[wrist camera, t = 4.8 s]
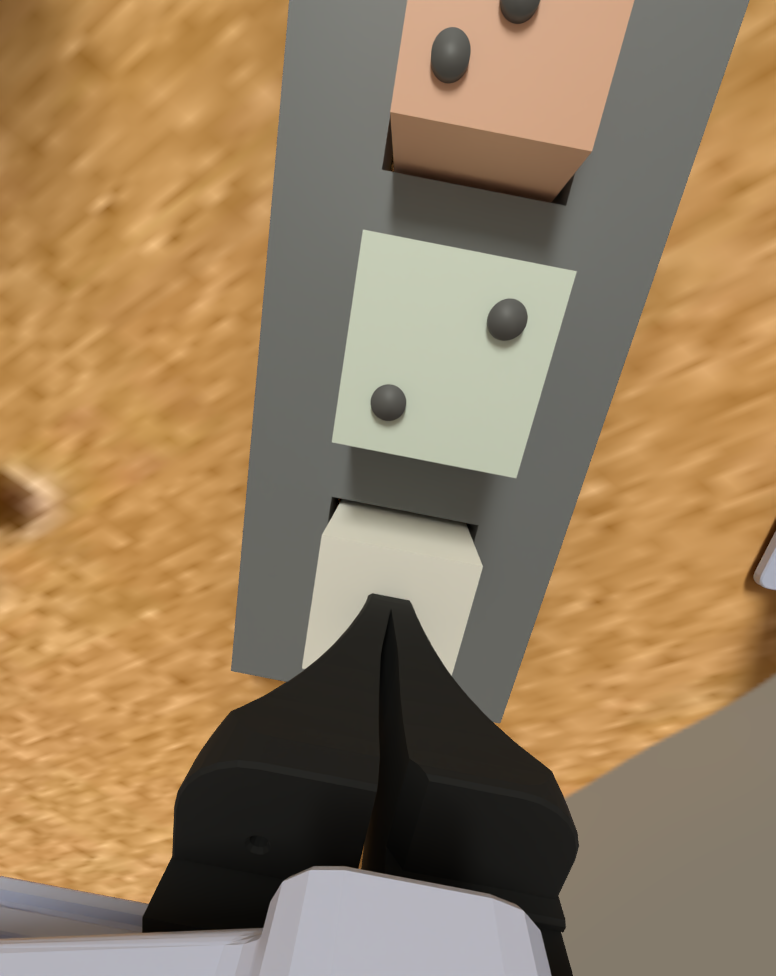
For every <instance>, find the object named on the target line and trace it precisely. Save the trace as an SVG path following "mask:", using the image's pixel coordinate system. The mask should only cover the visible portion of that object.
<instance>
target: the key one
mask: <svg viewBox="0 0 776 976" xmlns="http://www.w3.org/2000/svg"><path fill="white" fill-rule="evenodd" d="M482 568H483V565H482V563H481V560H480V558H479V555H478V553H477V550H476V548H475V545H474V543H473V540H472V538H471V535H470V533H469V530H468V528H467V525H466V523H464V522H459V521H454V520H449V519H444V518H439V517H434V516H428V515H423V514H418V513H413V512H408V511H403V510H398V509H393V508H388V507H382V506H377V505H372V504H367V503H362V502H357V501H352V500H347V499H342V500H341V502H340V504H339V505H338V507H337V509H336V511H335V512H334V514H333V516H332V518H331V520H330V521H329V523H328V525H327V527H326V528H325V530H324V532H323V534H322V537H321V544H320V550H319V557H318V564H317V570H316V577H315V584H314V590H313V597H312V604H311V610H310V617H309V624H308V630H307V637H306V644H305V650H304V657H303V664H302V669H306V668H307V667H308V666H310V665H311V664H312V663H313V662H315V661H316V660H317V659H318V658H319V657H320V656H322V655H323V654H324V653H325V652H326V651H327V650H328V649H329V648H330V647H331V646H332V645H333V644H334V643H335V642H336V641H337V640H338V639H339V638H340V636H341V635H342V634H343V633H344V632H345V631H346V630H347V629H348V627H349V626H350V625H351V623H352V622H353V621H354V619H355V618H356V617H357V615H358V614H359V612H360V611H361V609H362V608H363V606H364V604H365V602H366V600H367V598H368V595H370V594H372V593H374V594H379V595H384V596H390V597H395V598H400V599H405V600H410V602H411V603H412V605H413V608H414V610H415V613H416V615H417V617H418V619H419V622H420V624H421V626H422V628H423V630H424V632H425V634H426V635H427V637H428V639H429V641H430V643H431V645H432V646H433V648H434V650H435V651H436V653H437V655H438V656H439V658H440V660H441V661H442V663H443V664H444V666H445V667H446V669H447V670H448V672H449V673H450V674H451V676H452V673H453V670H454V666H455V663H456V659H457V656H458V652H459V649H460V645H461V642H462V638H463V635H464V631H465V628H466V624H467V621H468V617H469V614H470V610H471V607H472V603H473V600H474V596H475V593H476V589H477V586H478V582H479V579H480V575H481V572H482Z"/></svg>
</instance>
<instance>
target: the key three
mask: <svg viewBox="0 0 776 976" xmlns="http://www.w3.org/2000/svg"><path fill="white" fill-rule="evenodd" d="M633 3H634V0H407V5H406V12H405V18H404V25H403V31H402V38H401V45H400V51H399V58H398V64H397V71H396V77H395V84H394V90H393V97H392V103H391V110H390V116H391V131H392V145H393V159H394V172H396V173H401V174H406V175H411V176H416V177H421V178H426V179H432V180H437V181H442V182H447V183H452V184H457V185H462V186H467V187H472V188H477V189H483V190H488V191H493V192H498V193H503V194H508V195H513V196H518V197H523V198H529V199H534V200H539V201H544V202H549V203H551V202H552V201H553V200H554V198H555V197H556V196H557V195H558V193H559V192H560V191H561V190H562V188H563V187H564V186H565V185H566V183H567V182H568V181H569V180H570V178H571V177H572V176H573V175H574V173H575V172H576V171H577V170H578V168H579V167H580V166H581V165H582V163H583V162H584V161H585V160H586V158H587V157H588V156H589V155H590V153H591V152H592V150H593V146H594V143H595V139H596V136H597V132H598V128H599V125H600V121H601V118H602V114H603V111H604V107H605V103H606V100H607V96H608V93H609V89H610V86H611V82H612V78H613V75H614V71H615V68H616V64H617V61H618V57H619V53H620V50H621V46H622V43H623V39H624V36H625V32H626V28H627V25H628V21H629V18H630V14H631V11H632V7H633Z"/></svg>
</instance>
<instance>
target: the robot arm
mask: <svg viewBox="0 0 776 976" xmlns="http://www.w3.org/2000/svg"><path fill="white" fill-rule="evenodd" d="M753 577H754V581H755V582H756V583H757V584H759V585H760V586H762V587H764V588H767V589H771V590H776V531H775V533H774V535H773V537H772V539H771V541H770V543H769V545H768V547H767V549H766V551H765V553H764V555H763V557H762V559H761V561H760V563H759V565H758V567H757V568H756V570H755V573H754V576H753ZM363 846H364V851H363ZM578 847H579V844H578V834H577V830H576V828H575V825H574V822H573V820H572V817H571V814H570V811H569V809H568V806H567V804H566V801H565V799H564V796H563V794H562V792H561V790H560V788H559V786H558V784H557V782H556V780H555V777H554V775H553V773H552V771H551V770H550V769H548V768H547V767H546V766H545V765H543V764H542V763H541V762H539V761H538V760H537V759H536V758H534V757H533V756H532V755H530V754H529V753H528V752H527V751H525V750H524V749H523V748H522V747H520V746H519V745H518V744H517V743H515V742H514V741H513V740H512V739H511V738H510V737H509V736H507V735H506V734H505V733H504V732H503V731H502V730H501V729H500V728H499V727H498V726H496V725H495V724H494V723H493V722H492V721H491V720H490V719H489V718H488V717H487V716H486V715H485V714H484V713H483V712H482V711H481V710H480V709H479V707H478V706H477V705H476V704H475V703H474V702H473V701H472V700H471V699H470V698H469V697H468V696H467V694H466V693H465V692H464V691H463V690H462V688H461V687H460V686H459V685H458V683H457V682H456V681H455V680H454V678H453V677H452V676H451V674H450V673H449V672H448V670H447V669H446V667H445V666H444V664H443V663H442V661H441V660H440V658H439V656H438V655H437V653H436V651H435V650H434V648H433V646H432V645H431V643H430V641H429V639H428V637H427V635H426V634H425V632H424V630H423V628H422V626H421V624H420V622H419V619H418V617H417V615H416V613H415V610H414V608H413V605H412V603H411V602H410V600H405V599H400V598H395V597H390V596H384V595H379V594H374V593H372V594H370V595H368V598H367V600H366V602H365V604H364V606H363V608H362V609H361V611H360V612H359V614H358V615H357V617H356V618H355V619H354V621H353V622H352V623H351V625H350V626H349V627H348V629H347V630H346V631H345V632H344V633H343V634H342V635H341V636H340V638H339V639H338V640H337V641H336V642H335V643H334V644H333V645H332V646H331V647H330V648H329V649H328V650H327V651H326V652H325V653H324V654H323V655H322V656H320V657H319V658H318V659H317V660H316V661H315V662H313V663H312V664H311V665H310V666H308V667H307V668H306V669H305V670H303V671H302V672H301V673H299V674H298V675H296V676H295V677H294V678H292V679H291V680H289V681H287V682H286V683H284V684H283V685H281V686H279V687H278V688H276V689H275V690H273V691H271V692H270V693H268V694H266V695H264V696H263V697H261V698H259V699H257V700H254V701H252V702H250V703H248V704H246V705H244V706H242V707H240V708H237V709H235V710H233V711H231V712H230V713H229V714H228V716H227V717H226V718H225V719H224V720H223V722H222V723H221V724H220V725H219V727H218V728H217V729H216V730H215V732H214V733H213V734H212V736H211V737H210V739H209V740H208V741H207V743H206V744H205V746H204V747H203V748H202V750H201V751H200V753H199V755H198V756H197V758H196V759H195V761H194V763H193V765H192V767H191V768H190V770H189V772H188V774H187V776H186V777H185V779H184V781H183V783H182V785H181V787H180V788H179V790H178V793H177V797H176V801H175V806H174V828H173V852H172V858H171V860H170V862H169V864H168V866H167V868H166V870H165V872H164V874H163V876H162V878H161V880H160V882H159V884H158V886H157V888H156V890H155V893H154V895H153V897H152V899H151V901H150V903H149V904H146V903H141V902H136V901H131V900H125V899H120V898H115V897H109V896H104V895H99V894H94V893H88V892H83V891H78V890H72V889H67V888H62V887H57V886H51V885H46V884H41V883H36V882H30V881H25V880H20V879H14V878H9V877H4V876H0V976H573V975H572V970H571V967H570V963H569V960H568V956H567V953H566V949H565V945H564V942H563V938H562V934H561V932H564V930H565V928H566V926H565V917H564V914H563V910H562V907H561V904H560V900H559V897H558V895H559V893H560V891H561V889H562V886H563V884H564V882H565V880H566V878H567V876H568V874H569V872H570V870H571V867H572V865H573V863H574V861H575V858H576V854H577V851H578ZM362 851H363V860H362V868H361V869H358V867H359V863H360V859H361V855H362Z"/></svg>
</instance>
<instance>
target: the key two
mask: <svg viewBox="0 0 776 976" xmlns="http://www.w3.org/2000/svg"><path fill="white" fill-rule="evenodd" d="M576 272H577V271H573V270H567V269H562V268H557V267H552V266H547V265H542V264H537V263H532V262H527V261H521V260H516V259H511V258H506V257H501V256H496V255H491V254H486V253H481V252H475V251H470V250H465V249H460V248H455V247H450V246H445V245H440V244H435V243H429V242H424V241H419V240H414V239H409V238H404V237H399V236H394V235H389V234H383V233H378V232H373V231H368V230H363V233H362V239H361V246H360V253H359V260H358V267H357V273H356V280H355V287H354V294H353V301H352V307H351V314H350V321H349V328H348V335H347V341H346V348H345V355H344V362H343V369H342V375H341V382H340V389H339V396H338V403H337V409H336V416H335V423H334V430H333V437H332V442H333V443H338V444H343V445H348V446H353V447H358V448H364V449H369V450H374V451H379V452H384V453H389V454H394V455H399V456H405V457H410V458H415V459H420V460H425V461H430V462H435V463H440V464H445V465H451V466H456V467H461V468H466V469H471V470H476V471H481V472H486V473H491V474H497V475H502V476H507V477H512V478H517V474H518V471H519V467H520V464H521V461H522V457H523V454H524V450H525V447H526V443H527V440H528V437H529V433H530V430H531V426H532V423H533V419H534V416H535V413H536V409H537V406H538V402H539V399H540V396H541V392H542V389H543V385H544V382H545V378H546V375H547V372H548V368H549V365H550V361H551V358H552V355H553V351H554V348H555V344H556V341H557V337H558V334H559V331H560V327H561V324H562V320H563V317H564V313H565V310H566V307H567V303H568V300H569V296H570V293H571V290H572V286H573V283H574V279H575V276H576Z"/></svg>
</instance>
